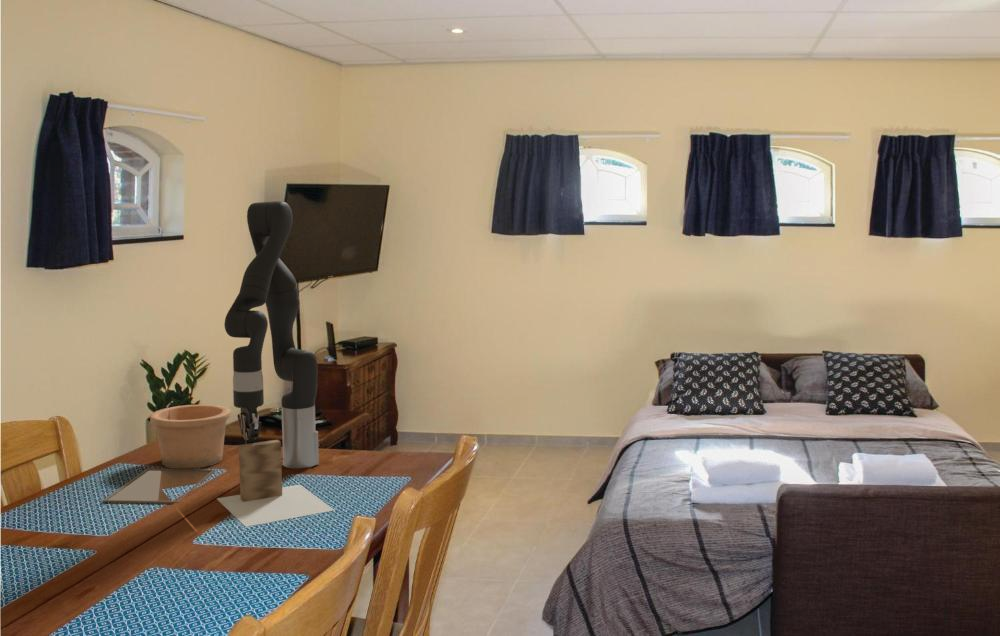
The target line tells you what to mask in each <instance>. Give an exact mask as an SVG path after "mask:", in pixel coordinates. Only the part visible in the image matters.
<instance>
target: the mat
mask: <svg viewBox="0 0 1000 636" xmlns="http://www.w3.org/2000/svg"><path fill="white" fill-rule="evenodd" d="M216 500H217V501H218V502H219V503H220V504H221V505H222V506H223V507H224V508H226V509H227V510H228V512H229V513H231V514H232V515H233V516H234V517H235V518H236V520H238V521H239V522H240V523H241V524H242V525H243V526H244V527H245V528H246V527H252V526H257V525H262V524H263V525H264V524H268V523H274V522H279V521H286V520H289V519H296V518H302V517H306V516H310V515H317V514H321V513H322V514H323V513H327V512H328V513H329V512H331V511H332V512H333V511H335V509H334V508H333V507H332V506H331V505H329V504H328V503H326V502H325V501H323V500H322V499H320V498H319V497H318V496H316V495H315V494H314V493H312V492H311V491H310V490H308V489H307V488H305V487H304V486H303V485H301V484H295V485H290V486H282V495H281V496H275V497H270V498H264V499H258V500H252V501H246V502H243V501H242V500H241V497H240V494H234V495H229V496H224V497H223V496H222V497H217V498H216Z"/></svg>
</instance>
